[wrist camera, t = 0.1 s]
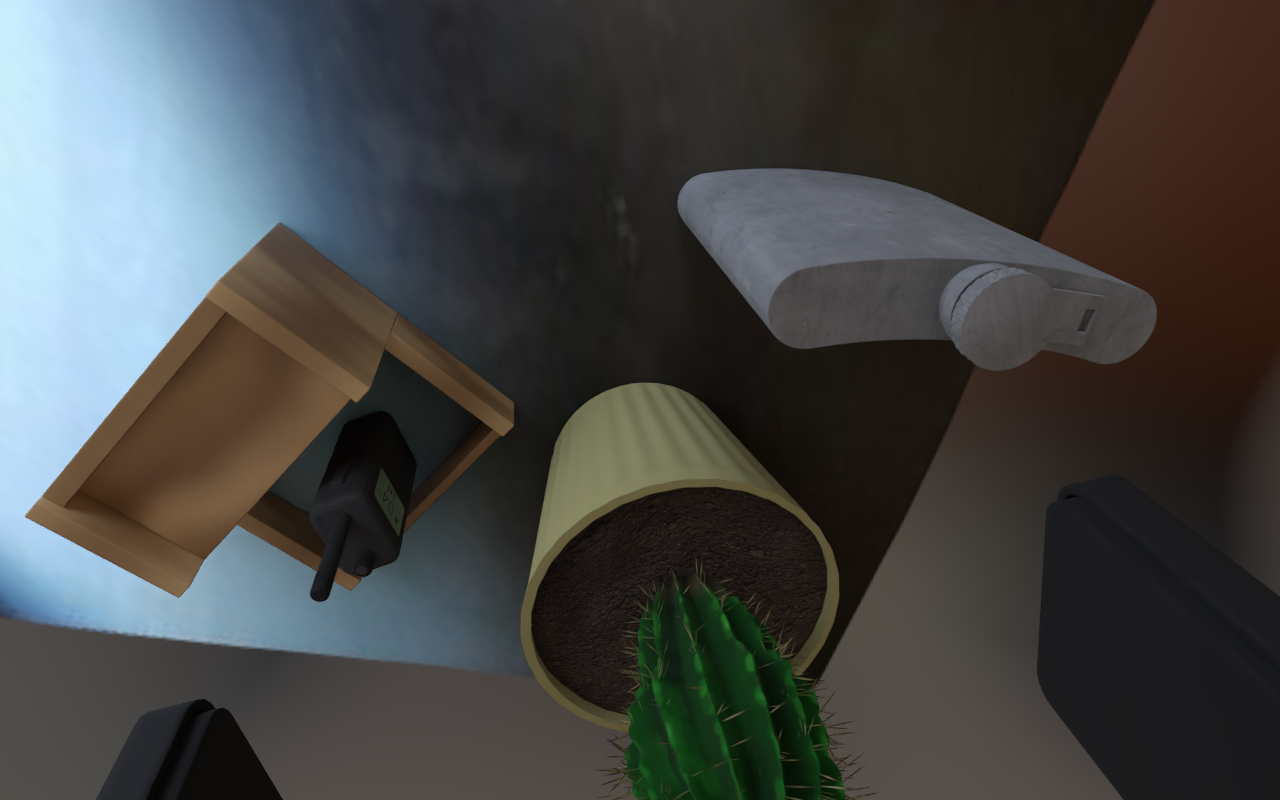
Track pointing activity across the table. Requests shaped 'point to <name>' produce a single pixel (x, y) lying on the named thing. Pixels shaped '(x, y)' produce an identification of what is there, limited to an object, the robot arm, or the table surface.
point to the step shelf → (248, 418)
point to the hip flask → (904, 270)
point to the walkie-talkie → (362, 500)
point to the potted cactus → (682, 603)
